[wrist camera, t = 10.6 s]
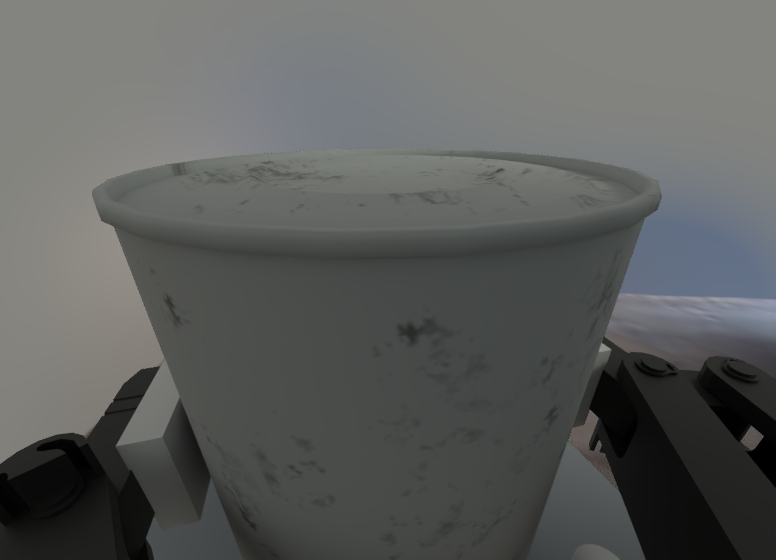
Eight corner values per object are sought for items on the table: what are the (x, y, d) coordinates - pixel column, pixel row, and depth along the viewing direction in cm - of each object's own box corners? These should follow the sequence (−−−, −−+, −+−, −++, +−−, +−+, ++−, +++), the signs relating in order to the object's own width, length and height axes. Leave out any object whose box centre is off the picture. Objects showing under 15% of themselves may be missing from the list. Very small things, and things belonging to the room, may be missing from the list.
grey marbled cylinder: (380, 379, 18) (375, 145, 13) (560, 496, 13) (685, 160, 7) (203, 518, 12) (48, 169, 7) (403, 884, 6) (468, 477, 1)
